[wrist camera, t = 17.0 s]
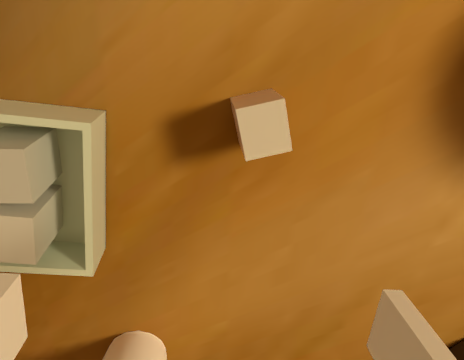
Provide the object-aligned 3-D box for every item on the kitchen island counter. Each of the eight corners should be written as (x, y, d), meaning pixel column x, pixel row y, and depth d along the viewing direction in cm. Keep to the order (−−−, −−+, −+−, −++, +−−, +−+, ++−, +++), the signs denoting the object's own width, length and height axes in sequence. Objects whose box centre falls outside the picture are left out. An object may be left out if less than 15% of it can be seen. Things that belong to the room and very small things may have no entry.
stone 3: (278, 133, 32) (292, 150, 28) (239, 142, 32) (245, 161, 28) (271, 88, 31) (284, 98, 26) (229, 97, 31) (235, 109, 26)
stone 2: (63, 225, 33) (35, 264, 28) (16, 222, 33) (-21, 260, 27) (61, 185, 32) (32, 218, 26) (12, 181, 31) (-27, 213, 26)
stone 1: (62, 172, 31) (33, 203, 26) (13, 172, 31) (-27, 203, 25) (56, 127, 30) (23, 149, 24) (4, 126, 29) (-41, 148, 24)
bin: (105, 247, 35) (93, 276, 31) (-21, 239, 33) (-52, 268, 29) (105, 110, 30) (91, 123, 26) (-42, 94, 29) (-82, 105, 24)
